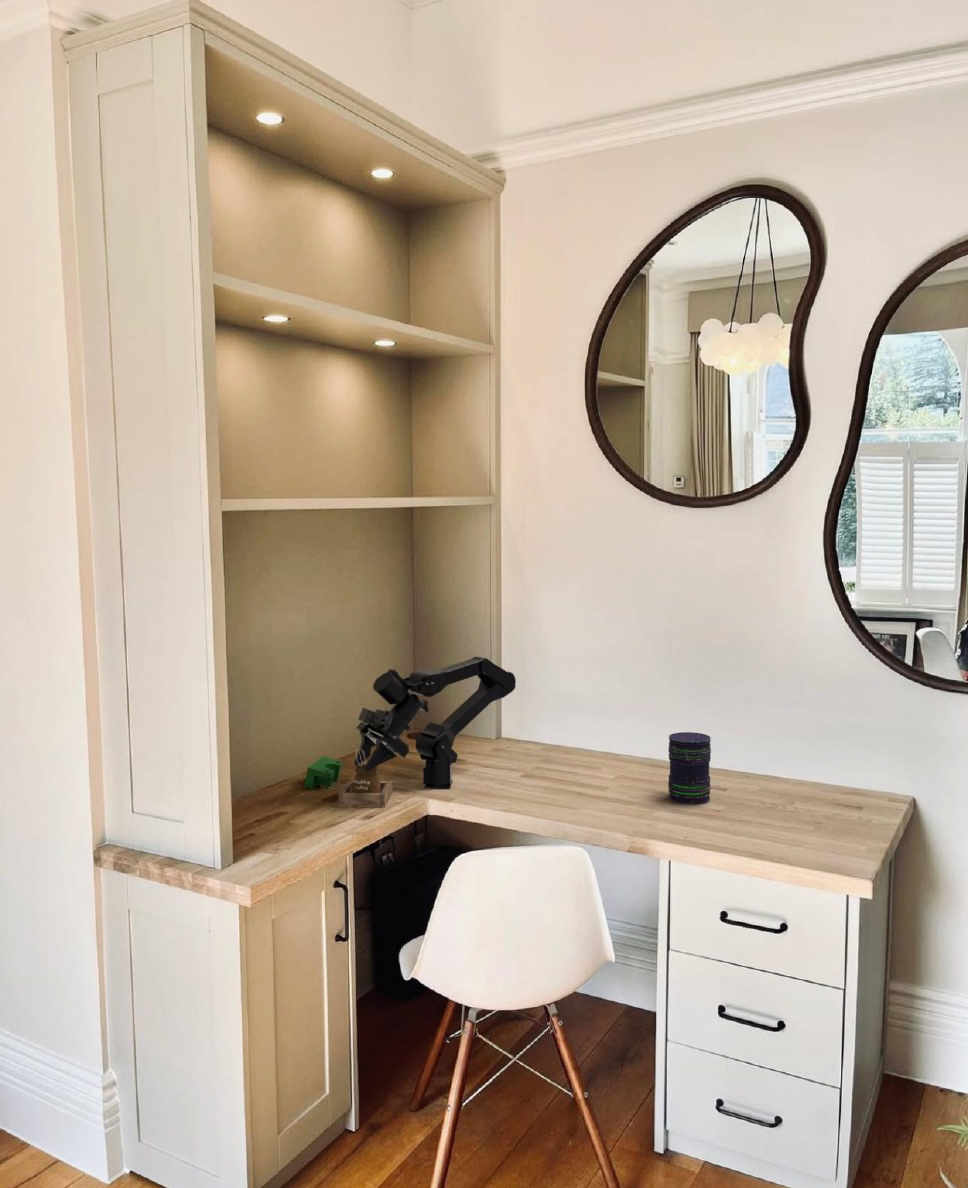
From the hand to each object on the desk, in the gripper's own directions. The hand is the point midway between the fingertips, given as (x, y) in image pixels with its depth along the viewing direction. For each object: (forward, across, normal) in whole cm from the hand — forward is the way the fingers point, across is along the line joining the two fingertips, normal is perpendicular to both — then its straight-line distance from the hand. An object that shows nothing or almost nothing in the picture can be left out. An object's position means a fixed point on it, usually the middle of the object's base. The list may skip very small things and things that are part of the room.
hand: (360, 767), depth 238 cm
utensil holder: (+4, +1, +6) cm, 7 cm away
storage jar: (-40, +41, +54) cm, 79 cm away
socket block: (+5, 0, +7) cm, 9 cm away
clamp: (+8, -18, +5) cm, 20 cm away
